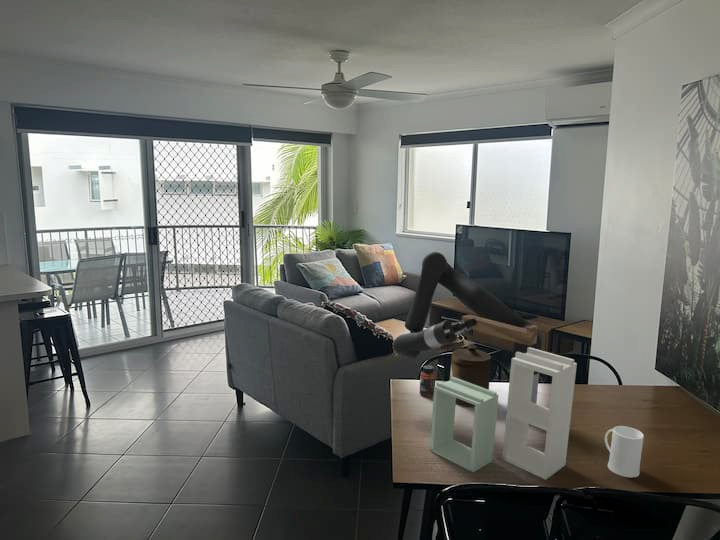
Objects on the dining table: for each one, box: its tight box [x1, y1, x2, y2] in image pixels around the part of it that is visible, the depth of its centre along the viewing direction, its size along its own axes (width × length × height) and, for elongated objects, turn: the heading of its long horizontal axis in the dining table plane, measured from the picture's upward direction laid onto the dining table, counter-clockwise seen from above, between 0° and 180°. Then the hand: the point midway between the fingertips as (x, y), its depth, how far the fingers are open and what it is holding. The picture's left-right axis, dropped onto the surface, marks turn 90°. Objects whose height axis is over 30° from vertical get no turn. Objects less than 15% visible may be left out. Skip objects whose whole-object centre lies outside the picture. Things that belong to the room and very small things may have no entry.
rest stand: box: [429, 376, 499, 473], centre depth 157 cm, size 10×16×22 cm, turn 43°
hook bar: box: [461, 314, 539, 346], centre depth 161 cm, size 4×24×5 cm, turn 44°
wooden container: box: [449, 343, 492, 408], centre depth 199 cm, size 15×15×22 cm
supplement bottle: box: [419, 365, 437, 398], centre depth 203 cm, size 6×6×11 cm
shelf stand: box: [501, 347, 578, 481], centre depth 154 cm, size 12×14×34 cm
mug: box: [604, 425, 645, 478], centre depth 155 cm, size 12×8×12 cm
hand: (479, 320), depth 166 cm, fingers closed on hook bar, 4 cm apart
